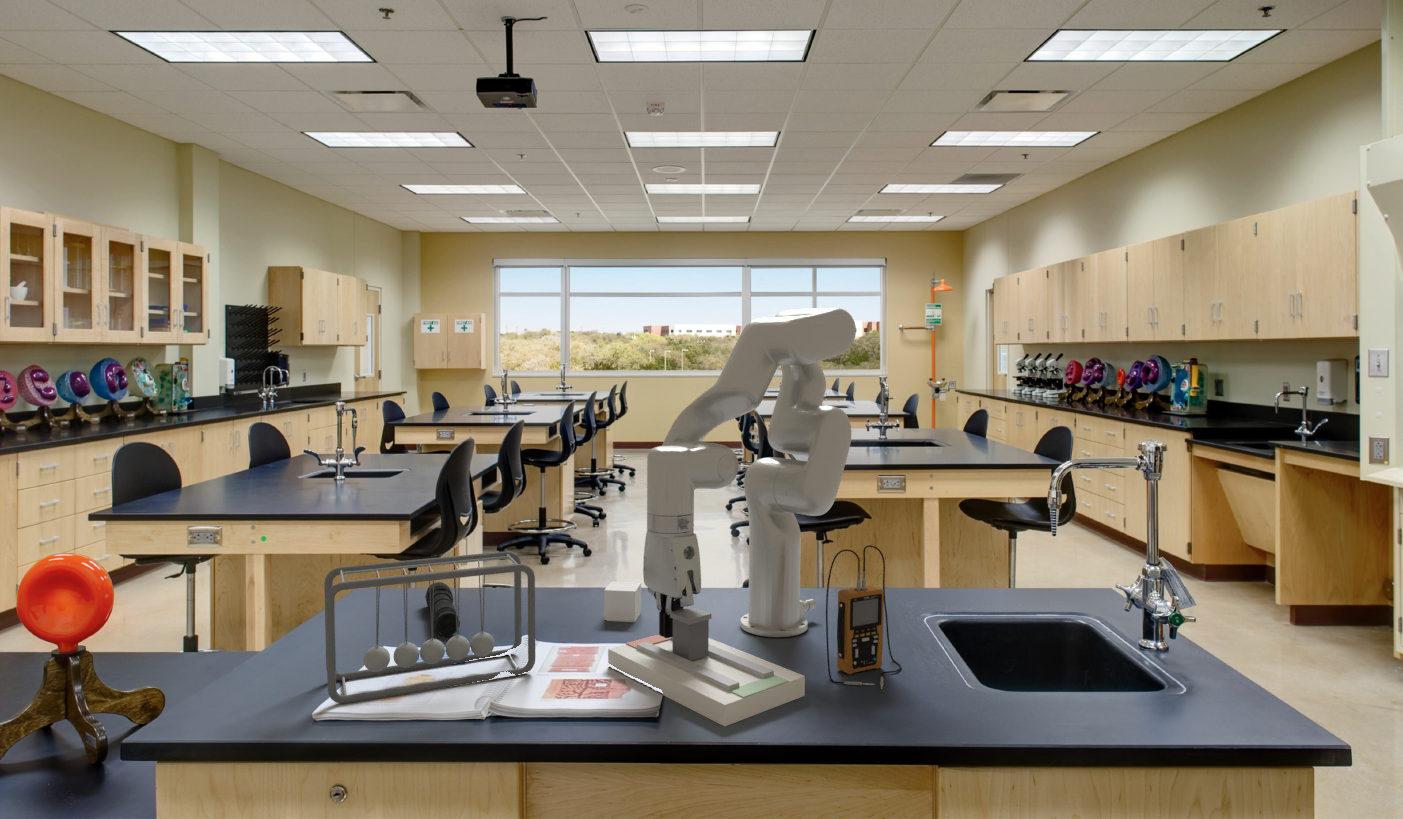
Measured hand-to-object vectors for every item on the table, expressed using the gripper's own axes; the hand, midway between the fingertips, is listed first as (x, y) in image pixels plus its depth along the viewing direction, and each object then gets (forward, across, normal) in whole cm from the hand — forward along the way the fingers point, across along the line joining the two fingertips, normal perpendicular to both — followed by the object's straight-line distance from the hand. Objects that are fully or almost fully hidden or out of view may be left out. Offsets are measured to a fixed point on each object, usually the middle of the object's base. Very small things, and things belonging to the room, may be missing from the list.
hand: (669, 635), depth 134 cm
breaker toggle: (+2, -5, 0) cm, 6 cm away
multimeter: (+5, -24, -22) cm, 33 cm away
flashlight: (+6, +46, +19) cm, 50 cm away
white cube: (+5, +26, -9) cm, 28 cm away
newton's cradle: (+5, +19, +32) cm, 38 cm away
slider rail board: (+5, -8, 0) cm, 10 cm away
